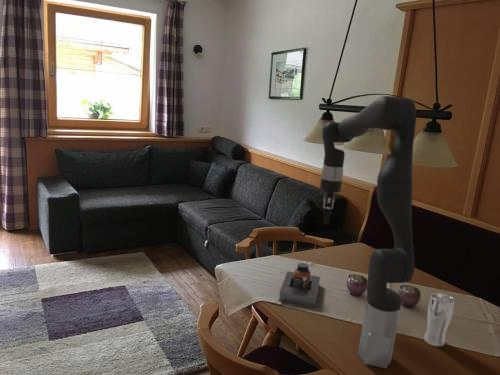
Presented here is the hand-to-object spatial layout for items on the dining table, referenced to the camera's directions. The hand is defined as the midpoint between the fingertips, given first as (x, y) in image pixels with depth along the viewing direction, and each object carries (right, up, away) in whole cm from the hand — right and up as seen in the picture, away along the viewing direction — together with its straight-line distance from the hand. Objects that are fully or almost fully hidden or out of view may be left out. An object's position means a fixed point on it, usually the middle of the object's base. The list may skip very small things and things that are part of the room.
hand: (326, 220), depth 151 cm
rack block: (-10, -27, +2) cm, 29 cm away
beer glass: (+30, -36, -22) cm, 52 cm away
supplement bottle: (-10, -28, +2) cm, 29 cm away
